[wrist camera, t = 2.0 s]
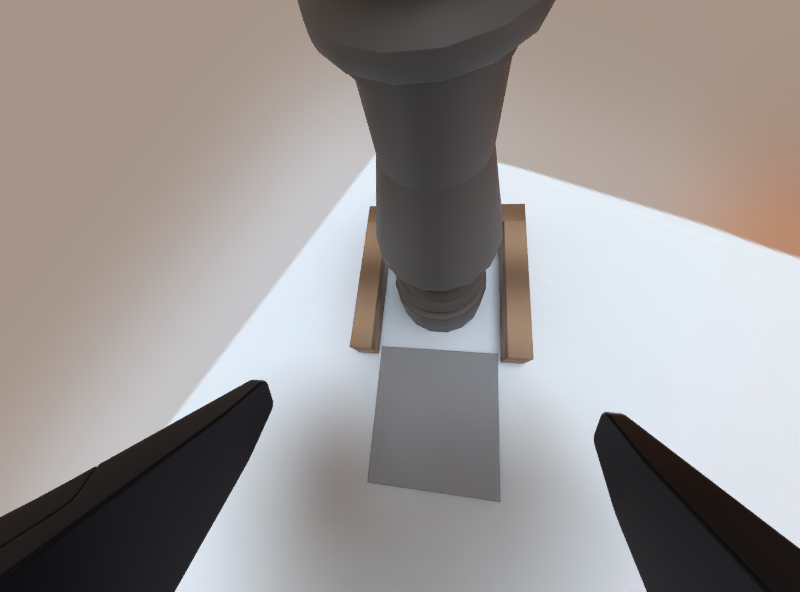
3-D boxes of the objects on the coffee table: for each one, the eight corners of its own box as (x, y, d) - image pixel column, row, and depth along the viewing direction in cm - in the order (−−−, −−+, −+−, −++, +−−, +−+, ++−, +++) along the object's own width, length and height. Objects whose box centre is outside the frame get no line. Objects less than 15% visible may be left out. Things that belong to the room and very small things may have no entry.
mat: (499, 500, 18) (500, 501, 18) (368, 481, 20) (367, 482, 19) (496, 354, 21) (497, 353, 21) (383, 346, 22) (382, 346, 22)
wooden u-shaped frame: (523, 363, 21) (533, 359, 18) (359, 351, 23) (349, 346, 20) (517, 222, 24) (524, 204, 22) (376, 223, 26) (369, 206, 24)
